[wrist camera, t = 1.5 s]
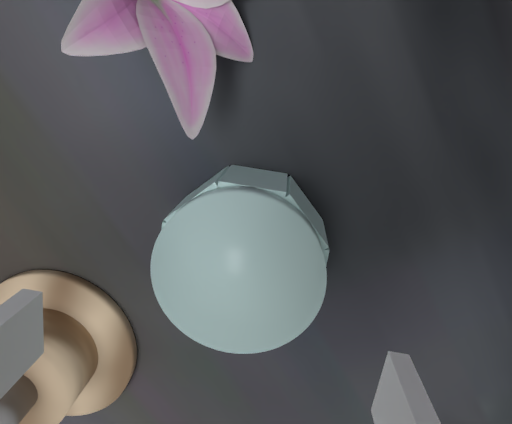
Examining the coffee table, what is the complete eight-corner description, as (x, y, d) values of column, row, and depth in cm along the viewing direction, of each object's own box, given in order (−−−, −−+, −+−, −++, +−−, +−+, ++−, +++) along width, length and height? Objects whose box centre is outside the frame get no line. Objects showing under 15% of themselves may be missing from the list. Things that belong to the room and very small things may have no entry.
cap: (332, 180, 24) (344, 209, 18) (305, 307, 27) (308, 367, 21) (188, 157, 24) (156, 179, 19) (176, 285, 27) (145, 337, 22)
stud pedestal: (141, 285, 27) (72, 374, 19) (133, 418, 31) (73, 543, 23) (-23, 256, 28) (-162, 330, 19) (-12, 390, 32) (-124, 502, 23)
